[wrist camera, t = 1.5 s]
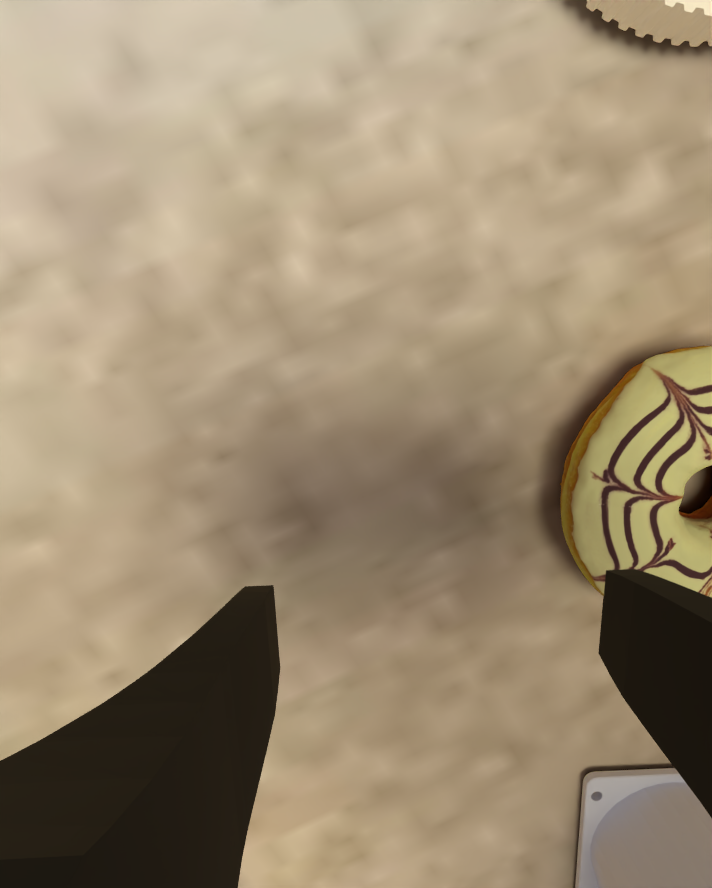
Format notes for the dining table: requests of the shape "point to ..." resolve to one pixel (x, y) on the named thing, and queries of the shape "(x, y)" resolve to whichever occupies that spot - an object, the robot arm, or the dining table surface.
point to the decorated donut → (644, 475)
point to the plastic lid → (661, 18)
